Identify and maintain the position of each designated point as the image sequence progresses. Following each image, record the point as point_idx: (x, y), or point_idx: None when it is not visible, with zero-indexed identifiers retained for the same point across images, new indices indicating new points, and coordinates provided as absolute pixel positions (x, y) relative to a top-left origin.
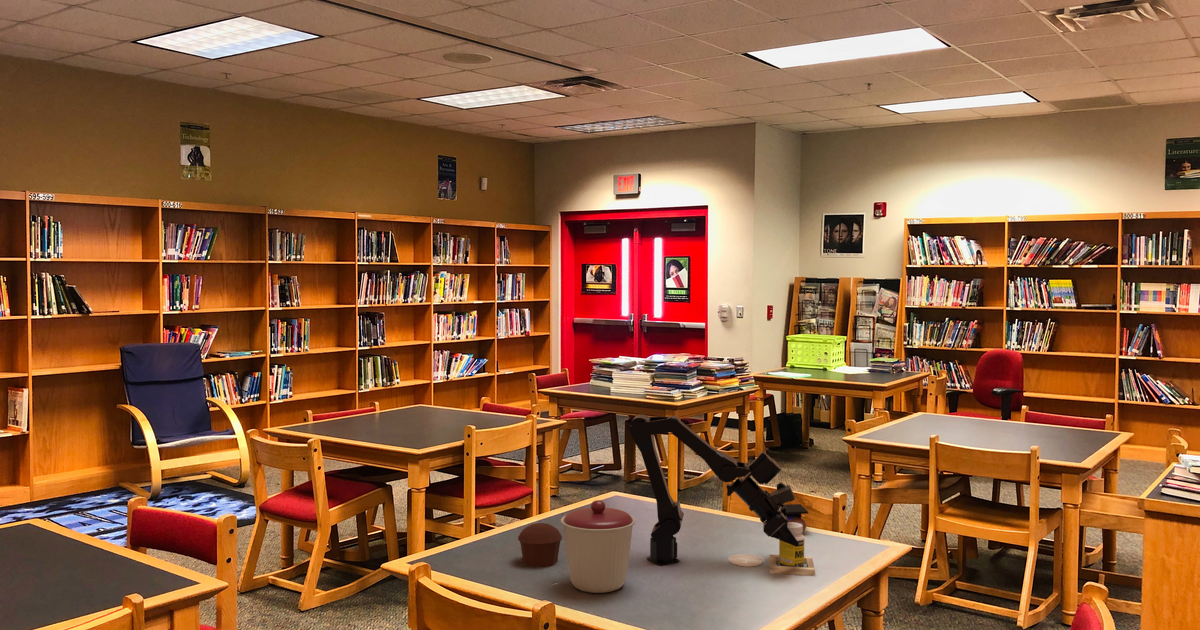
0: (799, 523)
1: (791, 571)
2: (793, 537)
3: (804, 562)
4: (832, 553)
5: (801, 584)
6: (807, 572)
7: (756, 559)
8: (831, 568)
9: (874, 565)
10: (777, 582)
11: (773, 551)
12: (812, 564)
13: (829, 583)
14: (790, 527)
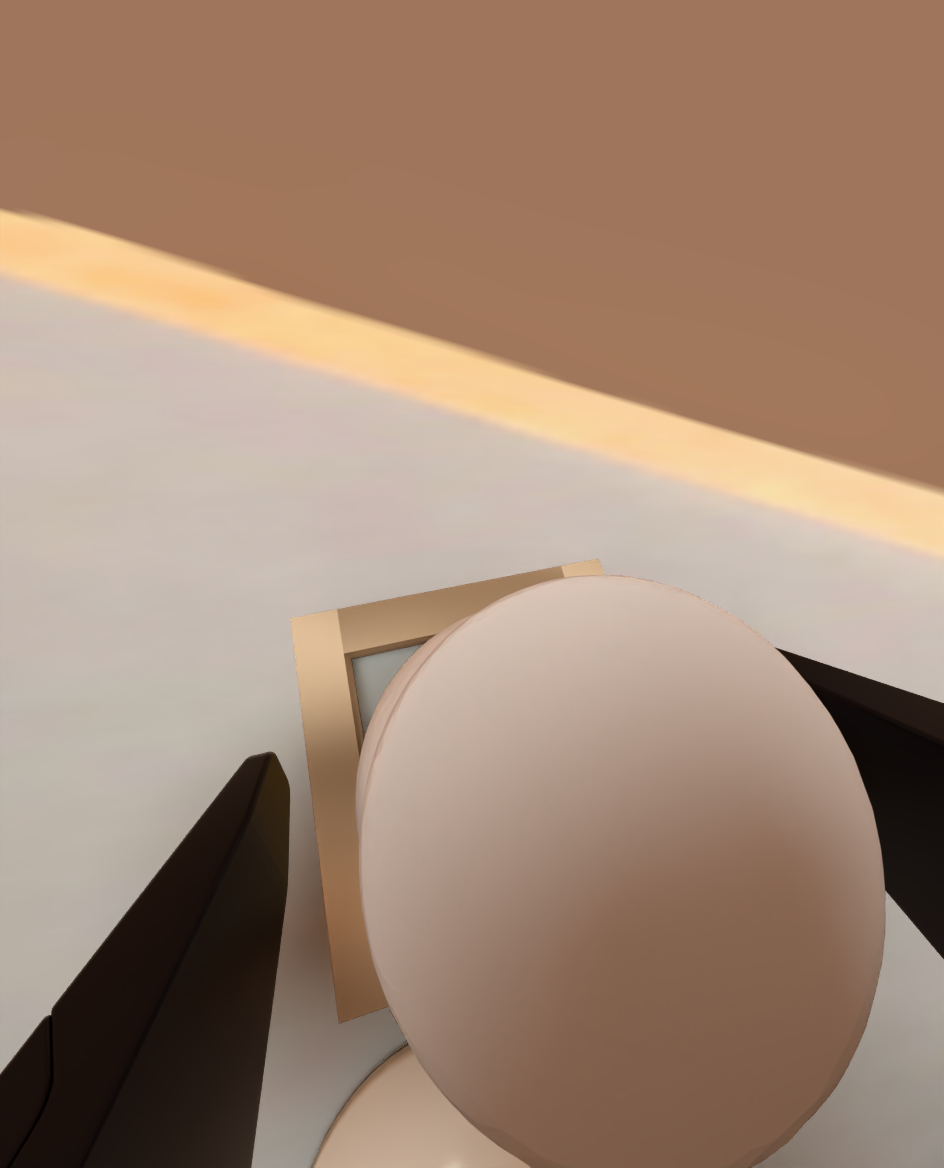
0: (433, 669)
1: None
2: (891, 696)
3: (352, 671)
4: (25, 516)
5: (774, 622)
6: None
7: (441, 1128)
8: (397, 494)
9: (255, 291)
10: None
11: None
12: (490, 587)
13: (674, 483)
14: (870, 815)
